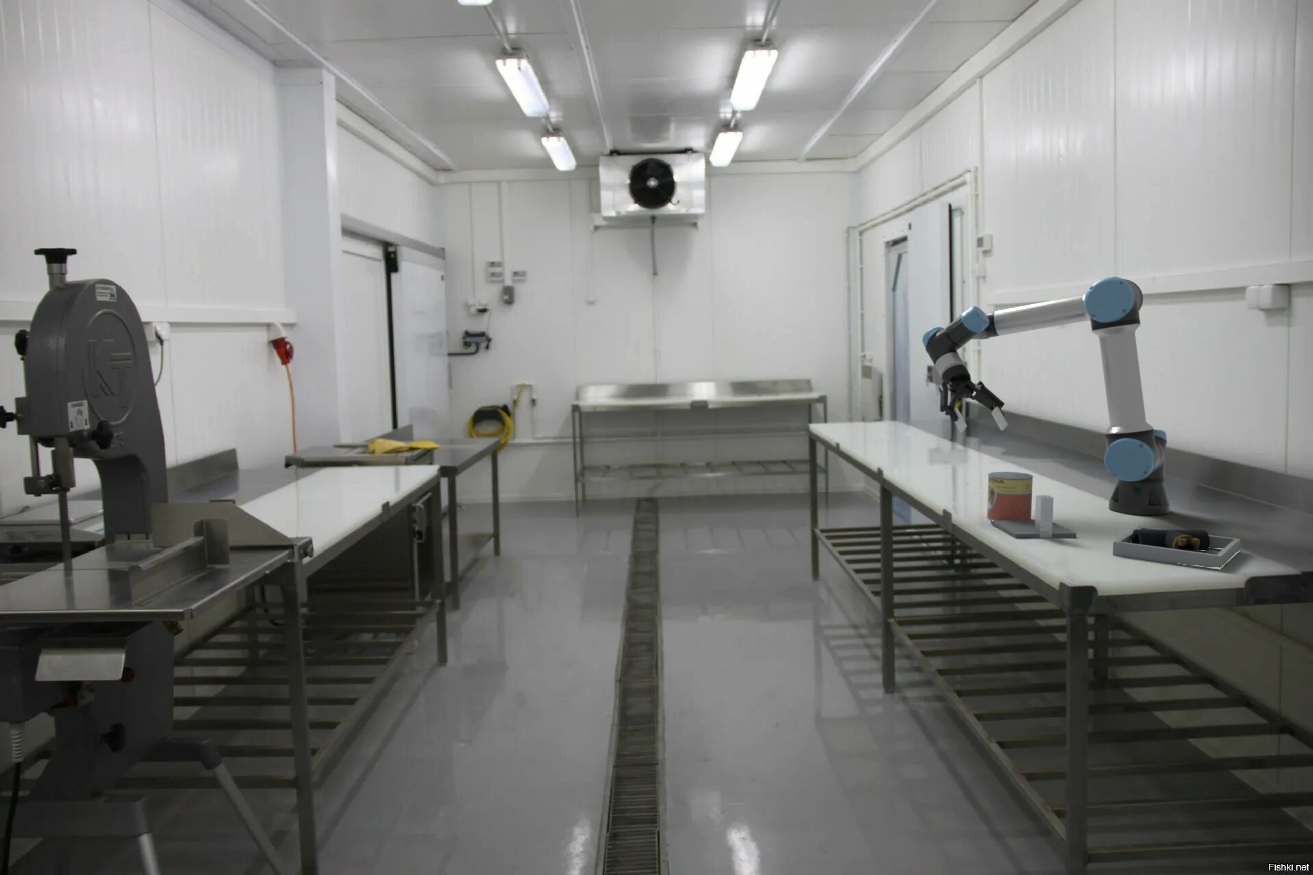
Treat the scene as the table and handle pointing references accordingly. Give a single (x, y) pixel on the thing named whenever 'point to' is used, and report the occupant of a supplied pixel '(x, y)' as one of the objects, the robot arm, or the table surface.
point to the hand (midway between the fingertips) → (984, 428)
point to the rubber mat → (1029, 529)
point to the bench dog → (1044, 515)
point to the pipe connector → (1173, 539)
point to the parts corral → (1178, 551)
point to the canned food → (1009, 496)
